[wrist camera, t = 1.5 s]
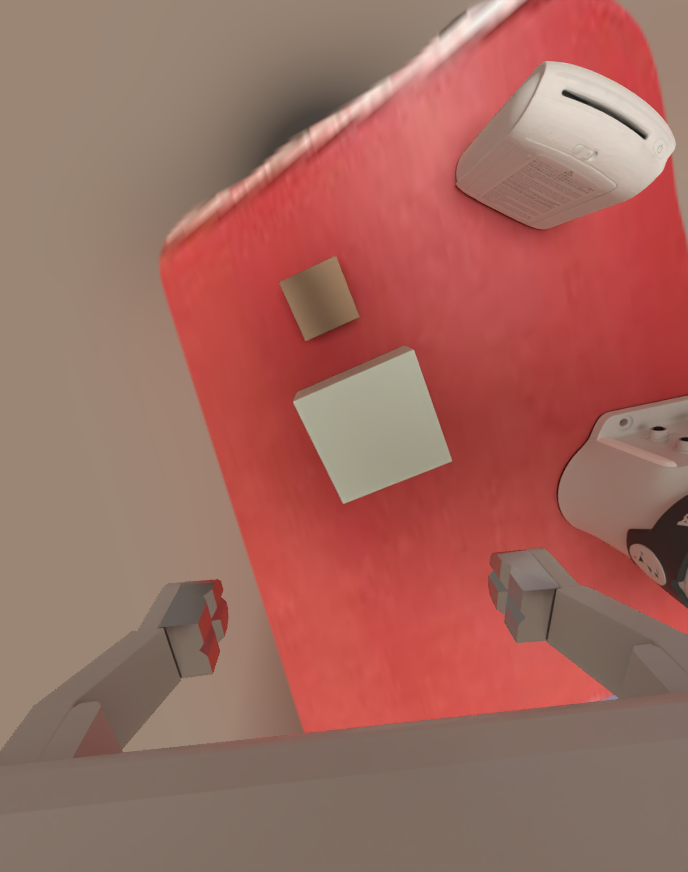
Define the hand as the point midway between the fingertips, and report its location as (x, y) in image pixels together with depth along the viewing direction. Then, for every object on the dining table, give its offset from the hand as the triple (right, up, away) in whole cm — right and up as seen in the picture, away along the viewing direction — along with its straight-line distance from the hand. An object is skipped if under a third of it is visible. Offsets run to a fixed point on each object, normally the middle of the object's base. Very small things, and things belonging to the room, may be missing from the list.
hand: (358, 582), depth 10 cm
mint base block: (+3, +6, +27) cm, 28 cm away
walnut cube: (-3, +17, +23) cm, 29 cm away
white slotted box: (+14, +26, +20) cm, 36 cm away
